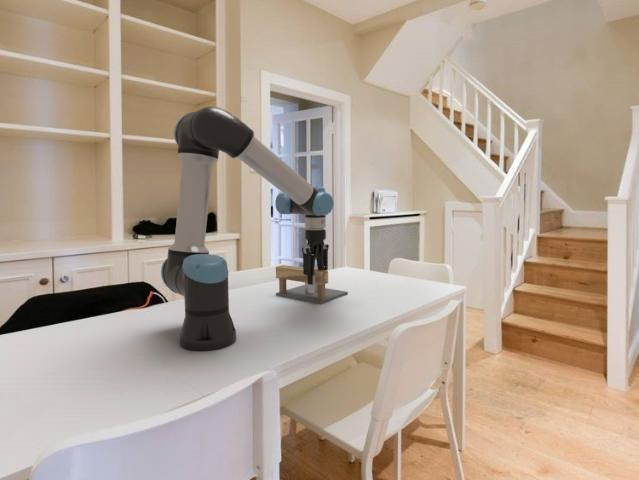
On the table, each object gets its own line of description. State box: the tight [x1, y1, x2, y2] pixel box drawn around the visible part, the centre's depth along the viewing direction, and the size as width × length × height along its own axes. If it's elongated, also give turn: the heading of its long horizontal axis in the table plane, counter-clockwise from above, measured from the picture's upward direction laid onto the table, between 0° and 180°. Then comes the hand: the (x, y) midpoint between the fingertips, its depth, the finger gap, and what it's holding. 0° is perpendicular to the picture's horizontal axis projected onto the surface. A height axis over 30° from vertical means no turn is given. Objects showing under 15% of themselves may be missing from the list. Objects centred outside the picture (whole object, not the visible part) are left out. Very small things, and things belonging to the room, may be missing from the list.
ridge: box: [304, 282, 318, 294], centre depth 168 cm, size 10×2×7 cm, turn 143°
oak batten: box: [275, 264, 329, 285], centre depth 160 cm, size 4×22×4 cm, turn 53°
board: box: [275, 278, 349, 305], centre depth 166 cm, size 18×22×7 cm
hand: (316, 291), depth 157 cm, fingers closed on oak batten, 4 cm apart
